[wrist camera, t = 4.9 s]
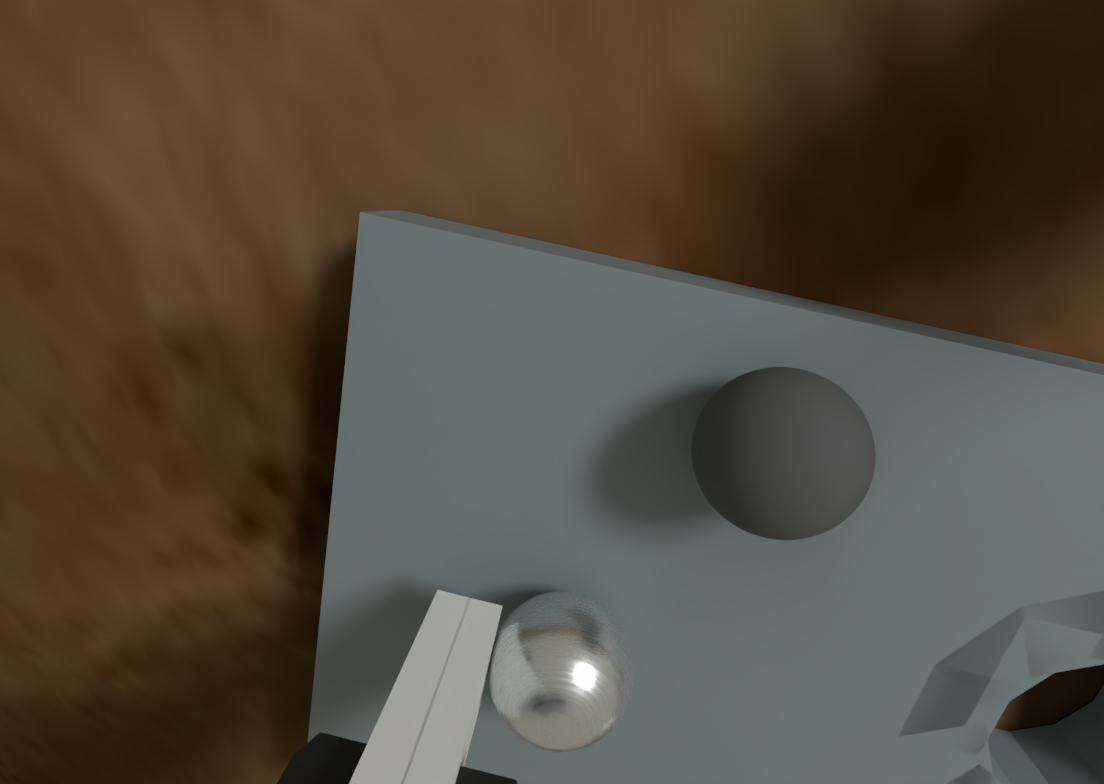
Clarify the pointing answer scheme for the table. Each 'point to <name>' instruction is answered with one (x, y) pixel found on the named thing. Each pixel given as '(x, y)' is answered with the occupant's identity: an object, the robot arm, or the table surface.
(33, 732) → the table surface
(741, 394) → the matte dark gray ball
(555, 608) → the steel ball
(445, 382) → the plate
